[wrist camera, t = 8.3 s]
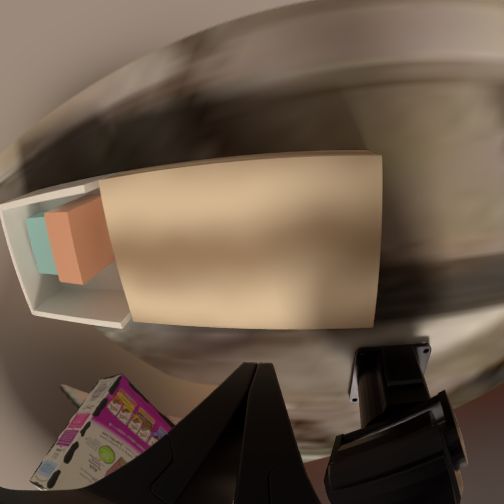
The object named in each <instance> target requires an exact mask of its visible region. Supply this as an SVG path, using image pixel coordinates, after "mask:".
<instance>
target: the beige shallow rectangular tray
mask: <svg viewBox="0 0 504 504" xmlns="http://www.w3.org/2000/svg"><path fill="white" fill-rule="evenodd" d="M98 182H99V188H100V193H101V198H102V203H103V208H104V213H105V218H106V222H107V227H108V231H109V236H110V240H111V244H112V248H113V252H114V256H115V260H116V264H117V267H118V271H119V275H120V278H121V282H122V285H123V289H124V292H125V296H126V299H127V302H128V305H129V309H130V312H131V315H132V318H133V321H135V322H146V323H158V324H171V325H185V326H201V327H221V328H249V329H347V328H373V324H374V316H375V308H376V299H377V289H378V278H379V265H380V251H381V231H382V156H381V155H379V154H376V153H374V152H371V151H369V150H327V151H300V152H281V153H266V154H253V155H241V156H230V157H221V158H211V159H203V160H194V161H186V162H179V163H172V164H165V165H158V166H152V167H145V168H139V169H133V170H129V171H126V172H123V173H120V174H116V175H113V176H110V177H107V178H104V179H101V180H98Z"/></svg>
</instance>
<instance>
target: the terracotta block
mask: <svg viewBox="0 0 504 504" xmlns="http://www.w3.org/2000/svg"><path fill="white" fill-rule="evenodd" d="M44 217H45V222H46V227H47V232H48V237H49V241H50V246H51V250H52V254H53V258H54V262H55V266H56V270H57V273H58V277H59V280H60V282H66V283H73V284H80V285H84V284H85V283H87V282H88V281H89V280H90V279H92V278H93V277H94V276H95V275H97V274H98V273H99V272H100V271H102V270H103V269H104V268H105V267H107V266H108V265H109V264H110V263H112V262H113V261H114V260H115V256H114V252H113V248H112V244H111V240H110V236H109V231H108V227H107V222H106V218H105V213H104V208H103V203H102V198H101V194H87V195H85V196H82V197H80V198H77V199H75V200H73V201H70V202H68V203H65V204H63V205H61V206H58V207H56V208H54V209H52V210H49V211H47V212H45V213H44Z"/></svg>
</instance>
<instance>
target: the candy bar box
mask: <svg viewBox="0 0 504 504" xmlns="http://www.w3.org/2000/svg"><path fill="white" fill-rule="evenodd" d="M173 427H174V425H173V424H172V423H170V422H169V421H168V420H167V419H166V418H165V417H164V416H163V415H162V414H161V413H160V412H159V411H158V410H157V409H156V408H155V407H154V406H153V405H152V404H151V403H150V402H149V401H148V400H147V399H146V398H145V397H144V396H143V395H142V394H141V393H140V392H139V391H138V390H137V389H136V388H135V387H134V386H133V385H132V384H131V383H130V382H129V381H128V379H127V378H126V377H125V376H124V375H123V374H118V375H115V376H111V377H106V378H103V379H100V380H99V381H98V382H97V384H96V385H95V386H94V388H93V389H92V390H91V392H90V393H89V395H88V396H87V398H86V399H85V400H84V402H83V403H82V404H81V406H80V407H79V409H78V410H77V412H76V413H75V414H74V416H73V417H72V419H71V420H70V422H69V423H68V424H67V426H66V427H65V429H64V430H63V432H62V433H61V434H60V436H59V437H58V439H57V440H56V442H55V443H54V445H53V446H52V447H51V449H50V450H49V452H48V453H47V455H46V456H45V458H44V459H43V461H42V462H41V464H40V465H39V467H38V469H37V470H36V471H35V473H34V474H33V476H32V478H31V479H30V482H31V483H32V484H33V485H35V486H36V487H37V488H38V489H40V490H70V489H78V488H82V487H85V486H88V485H91V484H93V483H95V482H97V481H98V480H100V479H102V478H104V477H105V476H107V475H109V474H110V473H112V472H114V471H115V470H117V469H118V468H120V467H122V466H123V465H125V464H126V463H128V462H130V461H131V460H133V459H134V458H135V457H137V456H138V455H140V454H141V453H143V452H144V451H145V450H147V449H148V448H149V447H150V446H152V445H153V444H154V443H155V442H157V441H158V440H159V439H160V438H161V437H163V436H164V435H165V434H168V431H170V430H171V429H172V428H173Z"/></svg>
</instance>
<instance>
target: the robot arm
mask: <svg viewBox="0 0 504 504" xmlns="http://www.w3.org/2000/svg"><path fill="white" fill-rule="evenodd" d="M425 349H426V350H425ZM361 353H364V354H363V355H360V354H361ZM430 353H431V347H430V344H428V343H424V344H413V345H400V346H385V347H365V348H359V349H358V350H357V351H356V355H355V362H354V370H353V376H352V383H351V389H350V395H349V401H350V403H359V407H360V419H361V429H359V430H356V431H353V432H350V433H348V434H345V435H344V434H341V435H338V436H336V439H335V442H334V446H333V449H332V453H331V456H330V460H329V463H328V467H327V469H326V473H325V477H324V484H325V488H326V493H327V496H328V499H329V501H330V503H331V504H460V500H461V495H462V491H463V483H462V479H461V474H460V469H462V468H464V467H466V466H468V462H467V456H466V451H465V447H464V442H463V438H462V435H461V432H460V429H459V426H458V423H457V420H456V417H455V414H454V411H453V409H452V406H451V404H450V401H449V399H448V397H447V394H446V392H445V390H443V391H441V392H439V393H438V395H436V396H434V397H432V398H431V397H430V394H429V391H428V388H427V384H426V381H425V378H424V373H425V370H426V366H427V363H428V360H429V357H430ZM354 398H355V399H354ZM233 500H234V504H321V502H320V500H319V498H318V496H317V494H316V492H315V491H314V489H313V486H312V484H311V482H310V480H309V478H308V475H307V472H306V470H305V467H304V464H303V461H302V458H301V455H300V452H299V450H298V446H297V442H296V439H295V436H294V432H293V429H292V426H291V423H290V419H289V416H288V413H287V409H286V406H285V403H284V399H283V396H282V393H281V389H280V386H279V383H278V379H277V376H276V373H275V369H274V366H273V364H272V363H263V362H260V363H259V364H258V363H256V362H243V363H242V364H241V365H240V366H239V367H238V368H237V369H236V370H235V371H234V372H233V373H232V374H231V375H230V376H229V377H228V378H226V379H225V380H224V381H223V382H222V383H221V384H220V385H219V386H218V387H217V388H216V389H215V390H214V391H213V392H212V393H211V394H210V395H208V396H207V398H205V399H204V400H203V401H202V402H201V403H200V404H199V405H198V406H197V407H195V408H194V409H193V410H192V411H191V412H190V413H189V414H188V415H187V416H186V417H184V418H183V419H182V420H181V421H180V422H179V423H178V424H176V425H175V426H174V427H173V428H172V429H171V430H170V431H168V434H165V435H164V436H163V437H161V438H160V439H159V440H158V441H157V442H155V443H154V444H153V445H152V446H150V447H149V448H148V449H147V450H145V451H144V452H143V453H141V454H140V455H138V456H137V457H135V458H134V459H133V460H131V461H130V462H128V463H126V464H125V465H123V466H122V467H120V468H118V469H117V470H115V471H114V472H112V473H110V474H109V475H107V476H105V477H104V478H102V479H100V480H98V481H97V482H95V483H93V484H91V485H88V486H85V487H82V488H78V489H70V490H38V491H37V490H33V491H32V490H10V489H6V488H2V487H0V504H232V503H233Z"/></svg>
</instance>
